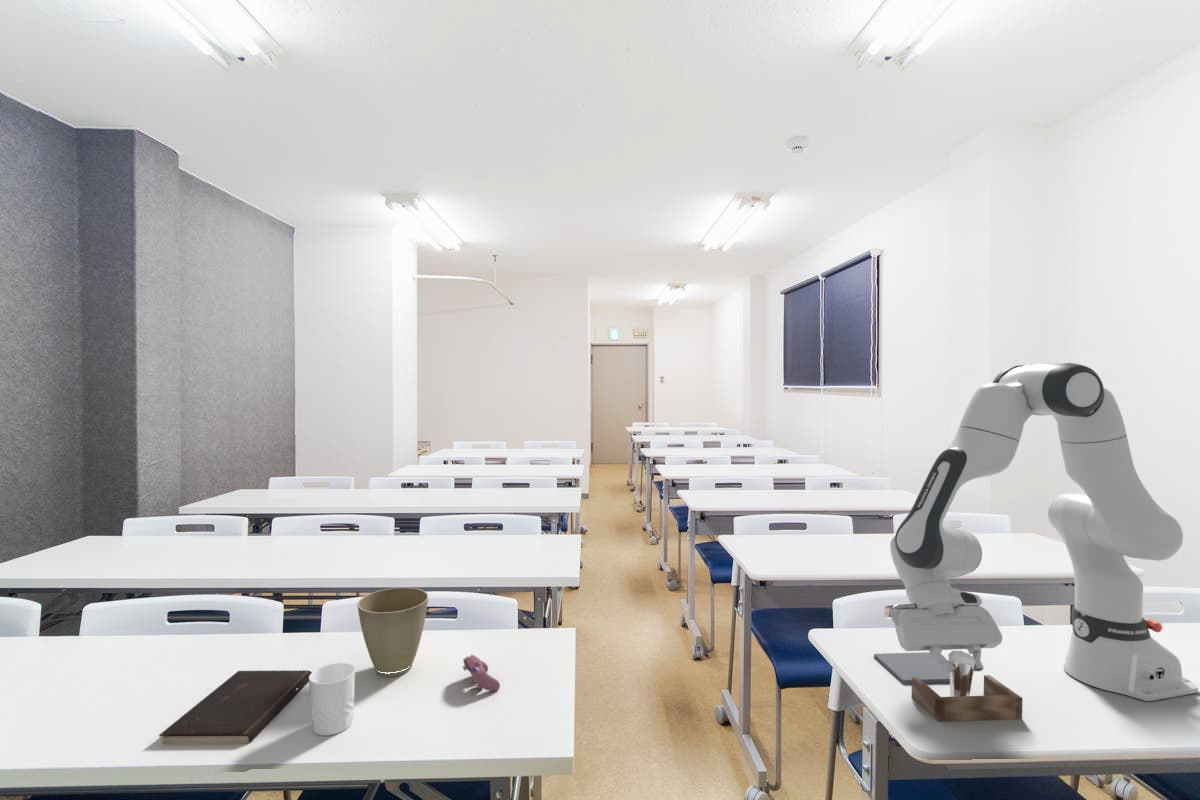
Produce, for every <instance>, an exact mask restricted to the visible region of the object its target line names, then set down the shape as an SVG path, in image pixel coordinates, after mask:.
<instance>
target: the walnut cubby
mask: <svg viewBox="0 0 1200 800" xmlns="http://www.w3.org/2000/svg"><path fill="white" fill-rule="evenodd" d="M911 697H912V699H914V701H916V702H917V703H918V704H919V705H920V706H921V707H922V708H923V709H924V710H925V711H927V712H928V714H930V716H932V717H933V718H934V719H935V720H936V721H937V722H959V721H960V722H962V721H964V722H965V721H968V722H969V721H993V720H998V721H999V720H1022V719H1023V697H1022V696H1020V695H1019V694H1017V693H1016V692H1014V691H1013V690H1011V689H1010V688H1009V687H1007V686H1006V685H1004V684H1003V683H1002V682H1000V681H999V680H997V679H996V678H995V677H993V676H991V675H990V674H987V675H986V674H985V675H983V695H970V696H957V697H950V696H940V695H939V694H938V693H937V692H936V691H935V690H934V689H932V688H931V687H930V686H928V684H927V683H924V682H923V681H922V680H920V679H919V678H918V677H912V684H911Z"/></svg>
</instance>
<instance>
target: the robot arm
mask: <svg viewBox="0 0 1200 800" xmlns="http://www.w3.org/2000/svg"><path fill="white" fill-rule="evenodd" d="M1033 415H1034V416H1052V417H1054V420H1055V421H1056V423H1057V431H1058V437H1059V438H1058V439H1059V443H1060V447H1061V449H1060V450H1061V453H1062V457H1063V462H1064V467H1065V468H1064V469H1065V472H1066V474H1067V475H1068V477H1069V478H1070V479H1071V480H1072V481H1073V482H1074V483H1075V484H1077V486H1079V487H1080V488H1081V489H1082V490H1083V492H1067V493H1062V494H1060V495H1057V496H1056V497H1055V498H1054V499H1053V500H1052V501H1051V502H1050V504H1049V506H1048V510H1047V516H1048V517H1047V518H1048V521H1049V523H1050V525H1051V526H1052V527H1053V528H1054V529H1055V531H1056V532H1057V533H1058V534H1059V536H1060V537H1061V539H1062V541H1063V542H1064V544H1065V547H1066V549H1067V552H1068V555H1069V559H1070V560H1071V565H1072V568H1073V569H1072V570H1073V576H1074V604H1073V605H1072V606H1071V624H1072V629H1071V630H1072V631H1071V636H1070V641H1069V646H1068V652H1066V655H1065V662H1064V664H1063V670H1064V671H1065V672H1066V673H1068V674H1069V676H1071V677H1072V678H1074V679H1077V680H1078V681H1080V682H1083V683H1084V684H1085V685H1086V684H1087V685H1089V686H1093V687H1095V688H1099V689H1100V690H1105V691H1109V692H1112V693H1116V694H1120V695H1124V696H1129V697H1132V698H1134V699H1137V700H1141V701H1145V702H1152V701H1158V700H1164V699H1170V698H1175V697H1181V696H1186V695H1190V694H1191V695H1192V694H1196V693H1199V688H1198V686H1197V685H1196V684H1195V683H1194V682H1193V681H1191V680H1190V679H1188V678H1187V677H1185V676H1183V670H1182V664H1181V661H1180V660H1179V658H1178V657H1177V655H1176V654H1175V653H1173V652H1171V651H1170V650H1169V649H1168V648H1166V647H1165V646H1163V644H1161V643H1160V642H1158V641H1157V640H1155V639H1154V637H1152V636H1151V633H1150V630H1152V631H1153V632H1155V633H1160V632H1162V631H1163V628H1164V627H1163V624H1162V623H1161V622H1158V621H1155V620H1153V619H1148V620H1147V619H1145V618H1144V617H1143V606H1144V603H1143V602H1144V586H1143V582H1142V581H1141V579H1140V577H1139V576H1138V574H1136V573H1135V572H1134V571H1133V570H1132V569H1131V567H1130V566H1129V564H1128V563H1127V560H1126V559H1125V557H1128V558H1132V559H1139V560H1148V561H1157V562H1158V561H1165V560H1168V559H1170V558H1171V557H1173V556H1175V555H1176V554H1177V553H1178V552H1179V550H1180V549H1181V547H1182V544H1183V541H1184V540H1183V539H1184V534H1183V529H1182V527H1181V525H1180V524H1179V522H1178V521H1177V519H1176V518H1175V517H1173V516H1172V515H1170V514H1169V513H1168V512H1166V511H1165V510H1164V509H1163V508H1162V507H1161V506H1160V505H1159V504H1158V503H1157V502H1156V500H1155V499H1154V498H1153V497H1152V495H1151V494H1150V493H1149V491H1148V490H1147V488H1146V487H1145V486H1144V483H1143V482H1142V480H1141V479H1140V477H1139V475H1138V473H1137V471H1136V468H1135V465H1134V461H1133V458H1132V452H1131V448H1130V444H1129V441H1128V435H1127V430H1126V426H1125V421H1124V419H1123V416H1122V413H1121V410H1120V408H1119V405H1118V403H1117V401H1116V399H1115V396H1114V395H1113V393H1112V391H1110V390H1108V388H1105V387H1104V384H1103V381H1102V380H1101V378H1100V376H1099V375H1098V374H1097V372H1096V371H1094V370H1093V369H1092V368H1090V367H1088V366H1086V365H1083V364H1079V363H1073V362H1066V363H1065V362H1064V363H1062V362H1061V363H1059V362H1040V363H1034V364H1027V365H1024V364H1023V365H1022V364H1021V365H1014V366H1011V367H1008V368H1006V369H1004V370H1001V372H999V373H998V374H997V375H996V377H995V378H994V379H993V380H992V382H990V383H986V384H983V385H981V386H980V387H978V388H977V389H976V390H975V392H974V394H973V396H972V397H971V399H970V401H969V402H968V405H967V407H966V409H965V411H964V413H963V415H962V417H961V421H960V423H959V427H958V428H957V431H956V434H955V436H954V439H953V440H952V442H951V444H949V446H948V448H946V449H945V450H943V451H941V453H940V454H939V455H938V456H937V458H936V459H935V461H934V463H933V465H932V466H931V469H930V470H929V472H928V474H927V477H926V479H925V480H924V482H923V485H922V487H921V489H920V491H919V493H918V494H917V498H916V499H915V501H914V504H913V505H912V508H911V510H910V511H909V513H908V514H907V515H906V517H905V518H904V520H903V521H902V522H901V523H900V525H899V526H898V528H897V530H896V532H895V535H894V536H893V537H892V538H891V540H890V546H889V547H890V548H889V549H890V551H889V552H890V555H891V560H892V562H893V564H894V567H895V570H896V572H897V575H898V577H899V579H900V580H901V581H902V583H903V584H904V588H905V593H906V597H907V598H908V599H907V600H908V601H909V603H905V604H898V603H896V604H894V605H893V606H892V607H890V609H889V615H890V618H891V620H892V622H893V624H894V628H895V633H896V637H897V641H898V643H899V645H900V647H901V648H902V649H904V651H906V652H921V651H924V652H925V651H929V652H930V654H931V656H932V657H933V658H934V659H935V660H936V661H937V662H938V663H940V664H941V666H942V669H943V671H944V672H945V673H946V672H953V671H955V667H954V666H953V663H952V661H949V660H948V658H946V657H945V656H944V655H943V654H942V652H943V651H949V650H952V651H955V650H967V652H968V654H969V655H972V657H973V658H974V657H975V656H976V654H977V652H978V651H980V652H979V654H978V655H977V657H976V659H975V666H974V672H982V671H983V670H984V665H983V663H982V661H981V658H982V649H994V648H995V649H996V647H998V646H999V645H1000V644H1001V643H1002V641H1003V635H1002V632H1001V630H1000V629H999V627H998V625H997V622H996V621H995V619H994V618H993V616H992V615H991V613H990V612H989V610H987V609H986V608H984V607H982V605H983V600H982V598H981V597H980V596H979V595H978V594H977V593H976V594H975V593H971V592H968V591H963V590H961V589H958V588H955V587H951V585H950V582H949V580H950V579H953V578H954V579H955V578H958V577H961V576H965V575H967V574H970V573H972V572H974V571H975V570H976V569H978V567H979V566H980V564H981V562H982V557H983V551H982V547H981V544H980V542H979V540H978V538H977V537H976V536H975V535H973V534H972V533H971V532H968V531H965V530H962V529H960V528H956V527H952V526H948V525H944V523H943V522H944V521H945V517H946V515H947V514H948V512H949V510H950V507H951V505H952V503H953V501H954V500H955V497H956V494H957V493H958V491H959V489H960V488H961V487H962V486H964V485H965V484H966V483H968V482H970V481H973V480H975V479H980V478H985V477H990V476H994V475H997V474H1000V473H1002V472H1003V471H1004V470H1007V469H1008V467H1009V466H1010V465H1011V463H1012V462H1013V460H1014V457H1015V456H1016V453H1017V450H1018V448H1019V444H1020V441H1021V438H1022V435H1023V430H1024V426H1025V423H1026V422H1027V421H1028V419H1030V418H1031V416H1033ZM1124 556H1125V557H1124Z"/></svg>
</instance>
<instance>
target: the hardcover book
mask: <svg viewBox="0 0 1200 800" xmlns="http://www.w3.org/2000/svg"><path fill="white" fill-rule="evenodd" d="M312 672H313V671H311V670H306V669H305V670H304V669H303V670H238V671H236V672H235V673H234V674H233V675H231V676H230V677H229V678H228V679H227V680H225V681H224V682H223V683H221V684H220V685H219V686H218V687H217V688H215V689H214V690H213V691H212V692H210V693H209V694H208V695H207V696H206V697H204V698H203V699H202V700H201V701H199V702H197V704H196V705H194V706H193V707H191V708H190V709H189V710H188V711H187V712H186V713H185V714H183V715H181V717H179V719H177V720H176V721H174V722H173V723H172V724H171V725H170V726H168V727H166V728H165V729H164V730H163V731H162V732H160V733H159V734H158V736H159V737H162V738H161V743H162V744H251V743H252V742H253V740H255V739H256V738H257V737H258V735H259V734H261V732H263V730H265V728H266V727H267V726H268V725H269V724H270V723H271V722H272V721H273V720H274V719H275V718H276V717H277V715H279V713H280V712H282V711H283V710H284V708H285V707H286V706H287V705H288V704H289V703H290V702H292V701H293V699H294V698H295V697H296V696H297V695H298V693H300V692H301V691H302V690H303V689H304V688H305V687H306V685H307V684H308V683H309V676H310V674H311V673H312ZM297 688H298V689H297ZM296 689H297V690H296Z"/></svg>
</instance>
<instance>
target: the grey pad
mask: <svg viewBox="0 0 1200 800" xmlns="http://www.w3.org/2000/svg"><path fill="white" fill-rule="evenodd" d="M873 658H874V659H875V660H877V662H879V664H881V665H882V666H883V667H884V668H885V669H887V670H888V671H889V673H891V674H892V675H893V676H894V677H895V678H897V679H898V680H899V681H900V682H901V683H902V684H903V685H905V684H909V685H910V684H911V685H912V677H918V678H919V679H920V680H922V681H923V682H924V683H925V684H940V683H941V684H944V683H950V672H946V673H945V672H944V671H943V669H942V666H941V664H940V663H938V662H937V661H936V660H935V659H934V658H933V657H932V656H931V654H930V651H929V652H928V651H927V652H925V651H924V652H895V653H894V652H892V653H886V652H885V653H873Z"/></svg>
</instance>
